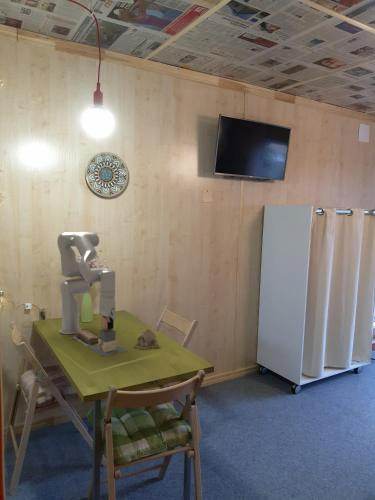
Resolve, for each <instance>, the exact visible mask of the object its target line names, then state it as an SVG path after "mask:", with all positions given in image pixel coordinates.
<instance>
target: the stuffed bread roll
mask: <svg viewBox="0 0 375 500" xmlns="http://www.w3.org/2000/svg"><path fill="white" fill-rule="evenodd" d="M158 342H159V340H158V339H157V336H156V334H155V333H154V332H153V331H152V330H151V329H150V328H146V329H145V331H143V332H142V333H141V334H140V335H139V336H138V338H137V342H136V343H135V344H134V346H133V347H134V349H137V350H142V351H143V350H149V349H151V348H152V349H157V348H159V347H160V344H159V343H158Z"/></svg>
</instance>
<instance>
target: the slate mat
mask: <svg viewBox="0 0 375 500" xmlns="http://www.w3.org/2000/svg"><path fill="white" fill-rule="evenodd" d="M88 348H89V349H90V350H92V351H93V352H95V353H97V354H98V355H100V356H101V357H107V356H110V355H115V354H119V353H122V352H126V351H127V349H126V348H123V347H122V346H120V345H118V344H117V349H116V350H112V351H108V352H103V351H102V350H100V349H99V348H98V344H95V345H90V346H88Z"/></svg>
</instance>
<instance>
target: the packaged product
mask: <svg viewBox="0 0 375 500" xmlns="http://www.w3.org/2000/svg"><path fill="white" fill-rule="evenodd" d="M72 339H73V340H74V341H76V342H79V343H81V344H82V345H84V346H86V347H91V346H92V345H93V344H95V343H98V339H100V337H98V336H97V335H95V334H93V333H92V332H90V331H89V330H87V329H81V331H77V332H76V334H75V336H72Z"/></svg>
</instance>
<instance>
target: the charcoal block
mask: <svg viewBox="0 0 375 500" xmlns="http://www.w3.org/2000/svg"><path fill="white" fill-rule="evenodd" d="M116 333H117V332H116V330H114V328H113V329H111V330H104V329H102V328H101V329H99V339H100V340H102V341H104V342H109V341H113V340H115V339H116Z"/></svg>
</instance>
